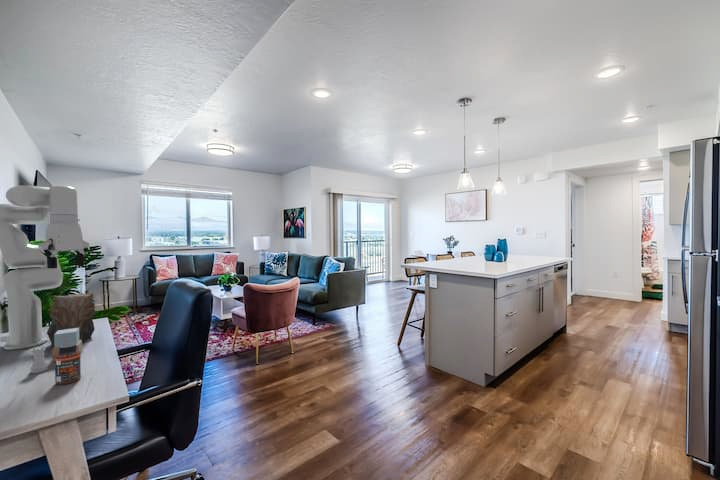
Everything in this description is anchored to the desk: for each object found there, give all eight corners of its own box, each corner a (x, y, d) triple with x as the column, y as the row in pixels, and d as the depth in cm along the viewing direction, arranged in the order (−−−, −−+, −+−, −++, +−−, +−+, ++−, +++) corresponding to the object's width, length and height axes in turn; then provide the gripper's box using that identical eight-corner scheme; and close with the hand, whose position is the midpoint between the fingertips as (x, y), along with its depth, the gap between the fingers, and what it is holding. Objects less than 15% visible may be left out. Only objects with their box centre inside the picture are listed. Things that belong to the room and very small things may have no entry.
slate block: (54, 348, 115) (54, 334, 114) (58, 343, 120) (57, 330, 119) (76, 344, 118) (76, 331, 118) (79, 340, 123) (79, 327, 123)
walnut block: (53, 362, 114) (52, 348, 114) (57, 356, 120) (57, 343, 120) (78, 358, 118) (78, 345, 118) (82, 352, 124) (81, 339, 124)
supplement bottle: (59, 387, 95) (57, 350, 95) (52, 382, 99) (51, 346, 98) (84, 379, 100) (83, 344, 100) (77, 375, 104) (76, 340, 103)
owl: (45, 345, 131) (43, 297, 131) (77, 335, 144) (75, 291, 143) (71, 347, 129) (69, 298, 129) (101, 337, 142) (100, 292, 141)
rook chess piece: (27, 375, 104) (26, 350, 104) (33, 369, 108) (32, 346, 108) (45, 372, 106) (44, 348, 106) (51, 367, 110) (50, 344, 110)
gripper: (78, 221, 126) (80, 264, 126) (28, 219, 109) (30, 269, 109) (95, 220, 125) (97, 264, 125) (47, 218, 108) (50, 269, 108)
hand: (66, 266), depth 117 cm, fingers open, 9 cm apart
